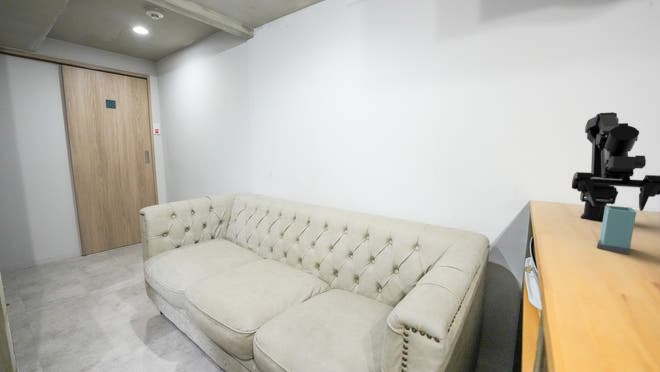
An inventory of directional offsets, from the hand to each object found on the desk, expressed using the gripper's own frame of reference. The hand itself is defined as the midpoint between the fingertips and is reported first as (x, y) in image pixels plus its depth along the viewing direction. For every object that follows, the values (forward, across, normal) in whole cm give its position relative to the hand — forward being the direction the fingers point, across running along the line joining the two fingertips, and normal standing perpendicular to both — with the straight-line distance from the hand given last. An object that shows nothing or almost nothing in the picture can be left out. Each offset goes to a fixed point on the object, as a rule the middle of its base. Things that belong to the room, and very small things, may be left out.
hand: (617, 207), depth 76 cm
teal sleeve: (+9, 0, +5) cm, 10 cm away
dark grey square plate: (+10, 0, +6) cm, 11 cm away
